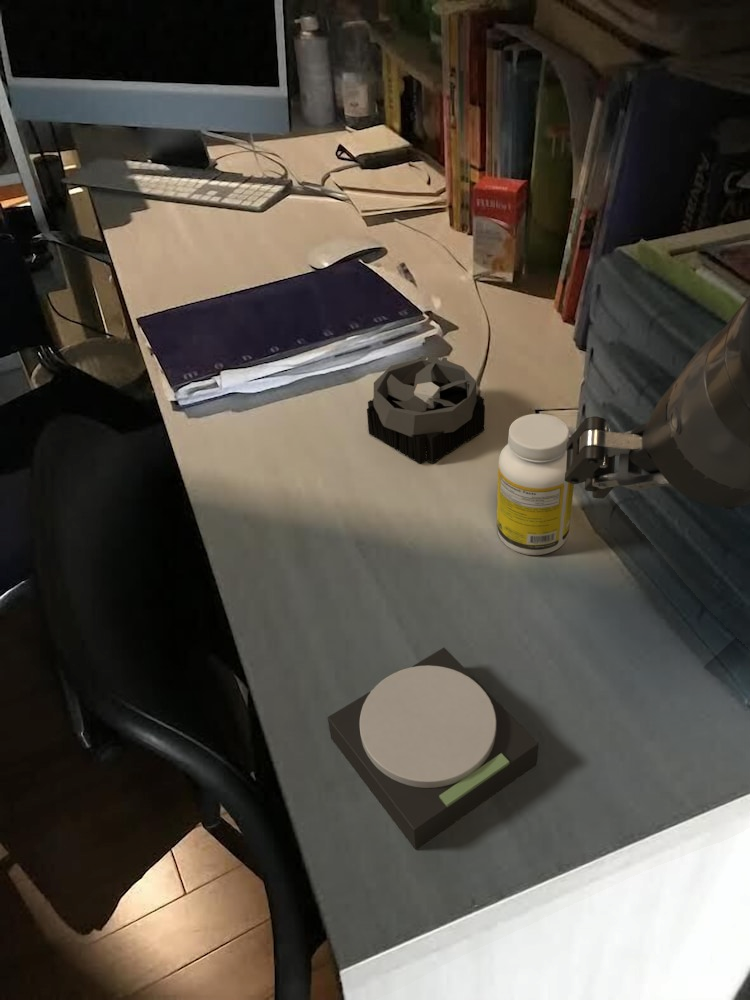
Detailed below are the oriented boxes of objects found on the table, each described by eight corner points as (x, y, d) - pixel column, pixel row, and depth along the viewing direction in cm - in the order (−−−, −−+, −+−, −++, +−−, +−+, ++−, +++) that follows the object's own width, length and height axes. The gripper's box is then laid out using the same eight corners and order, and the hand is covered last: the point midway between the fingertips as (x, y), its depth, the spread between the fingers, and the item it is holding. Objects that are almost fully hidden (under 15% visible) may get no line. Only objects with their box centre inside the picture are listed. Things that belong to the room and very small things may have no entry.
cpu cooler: (423, 426, 76) (350, 385, 82) (425, 475, 80) (355, 433, 86) (499, 380, 81) (425, 345, 87) (497, 428, 85) (426, 391, 91)
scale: (536, 764, 56) (539, 736, 53) (415, 850, 52) (413, 823, 50) (444, 668, 62) (443, 639, 60) (330, 738, 58) (325, 710, 56)
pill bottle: (529, 500, 76) (536, 398, 69) (583, 533, 72) (596, 429, 65) (481, 532, 73) (483, 429, 66) (534, 569, 69) (542, 464, 62)
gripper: (903, 350, 40) (772, 443, 56) (603, 330, 42) (558, 427, 57) (908, 501, 39) (772, 553, 55) (595, 476, 40) (551, 534, 56)
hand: (662, 489), depth 56 cm, fingers open, 8 cm apart
